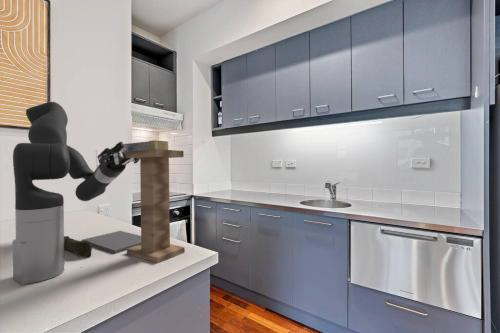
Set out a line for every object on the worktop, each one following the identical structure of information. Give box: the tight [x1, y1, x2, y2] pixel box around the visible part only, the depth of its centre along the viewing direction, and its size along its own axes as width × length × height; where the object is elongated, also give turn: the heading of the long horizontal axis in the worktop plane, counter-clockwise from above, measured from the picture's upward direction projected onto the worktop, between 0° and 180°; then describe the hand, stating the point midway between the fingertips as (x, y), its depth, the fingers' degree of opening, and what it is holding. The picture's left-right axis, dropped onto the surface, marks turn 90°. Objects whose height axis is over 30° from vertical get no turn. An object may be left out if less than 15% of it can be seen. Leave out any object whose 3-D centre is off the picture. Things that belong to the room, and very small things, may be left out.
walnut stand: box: [126, 149, 186, 264], centre depth 76 cm, size 10×15×32 cm, turn 58°
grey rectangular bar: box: [120, 139, 169, 153], centre depth 80 cm, size 5×20×3 cm, turn 58°
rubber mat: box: [82, 230, 141, 255], centre depth 88 cm, size 14×22×1 cm, turn 58°
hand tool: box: [64, 235, 93, 258], centre depth 78 cm, size 19×4×5 cm, turn 56°
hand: (132, 144), depth 83 cm, fingers open, 6 cm apart
